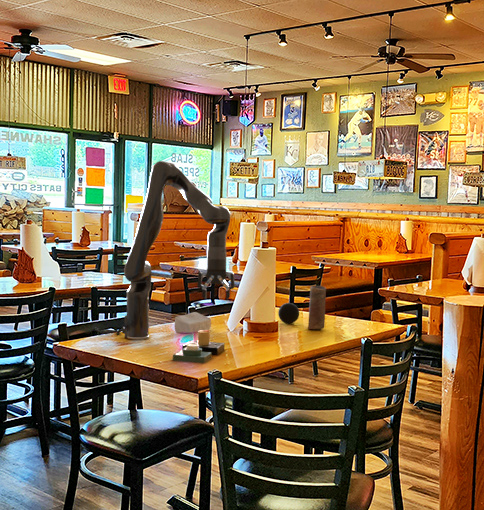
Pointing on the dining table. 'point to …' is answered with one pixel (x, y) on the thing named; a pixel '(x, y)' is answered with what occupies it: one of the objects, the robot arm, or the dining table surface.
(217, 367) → the dining table surface
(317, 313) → the candle
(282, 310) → the decorative ball
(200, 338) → the knob
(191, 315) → the stone
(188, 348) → the button
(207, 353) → the button block
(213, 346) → the panel
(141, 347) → the dining table surface
